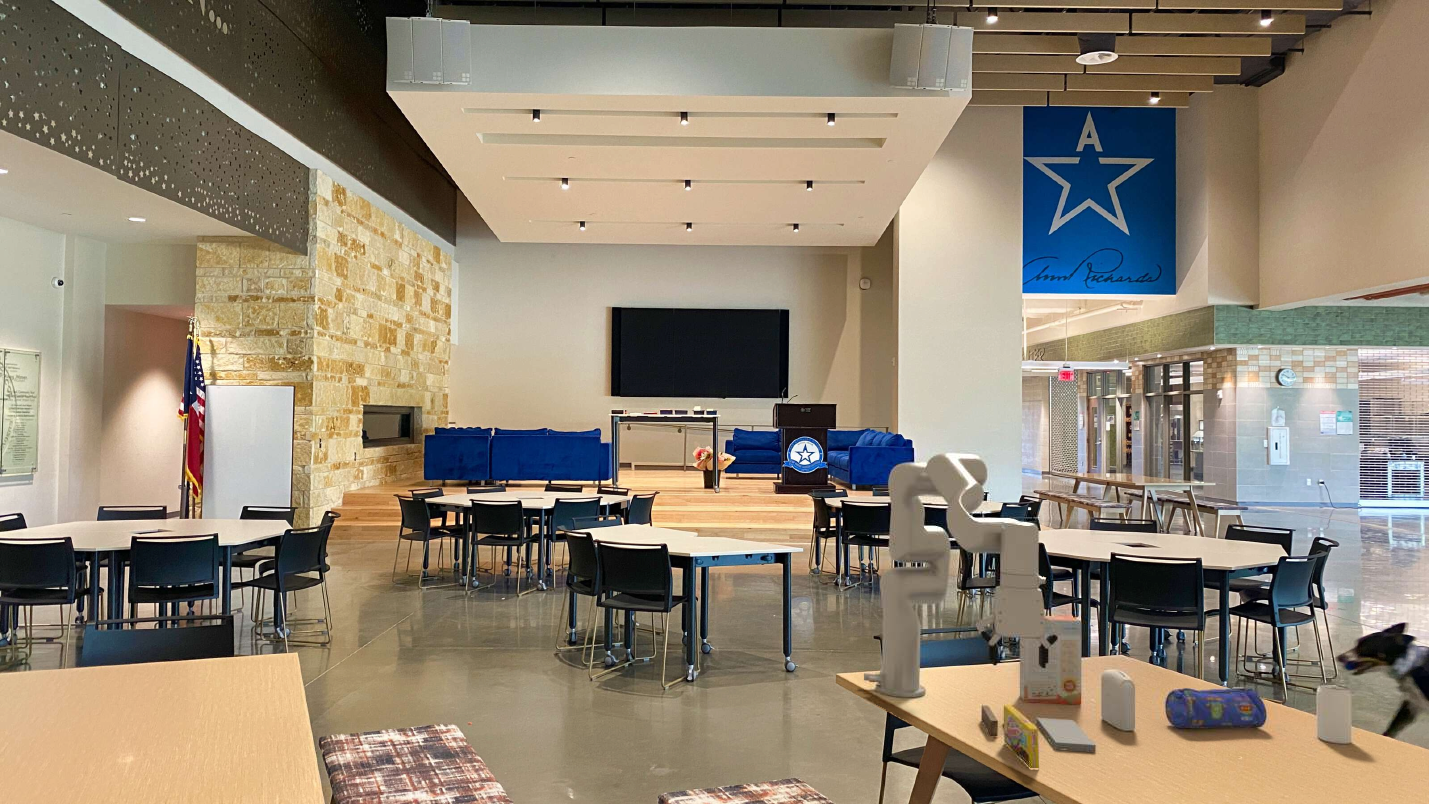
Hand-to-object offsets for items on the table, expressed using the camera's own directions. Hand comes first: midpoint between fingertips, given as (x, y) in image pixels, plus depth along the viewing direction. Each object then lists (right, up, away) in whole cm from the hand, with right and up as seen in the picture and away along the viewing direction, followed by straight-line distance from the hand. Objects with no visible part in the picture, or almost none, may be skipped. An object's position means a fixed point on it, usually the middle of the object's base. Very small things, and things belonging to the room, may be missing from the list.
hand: (1018, 665), depth 190 cm
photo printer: (+30, -21, +22) cm, 43 cm away
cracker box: (+22, -21, +42) cm, 52 cm away
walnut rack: (+1, -19, +16) cm, 25 cm away
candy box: (0, -18, -2) cm, 19 cm away
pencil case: (+53, -21, +23) cm, 62 cm away
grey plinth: (+14, -19, +11) cm, 26 cm away
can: (+76, -22, +16) cm, 81 cm away
